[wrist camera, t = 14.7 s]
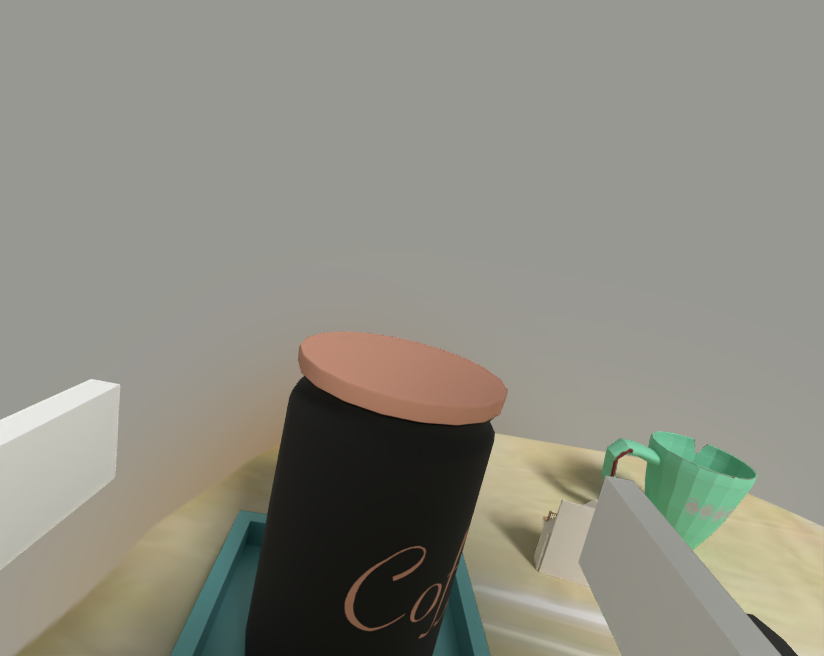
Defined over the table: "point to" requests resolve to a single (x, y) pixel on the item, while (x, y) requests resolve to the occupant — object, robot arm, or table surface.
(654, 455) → the mug
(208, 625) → the tray
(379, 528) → the coffee jar
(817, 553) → the table surface
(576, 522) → the architectural model
